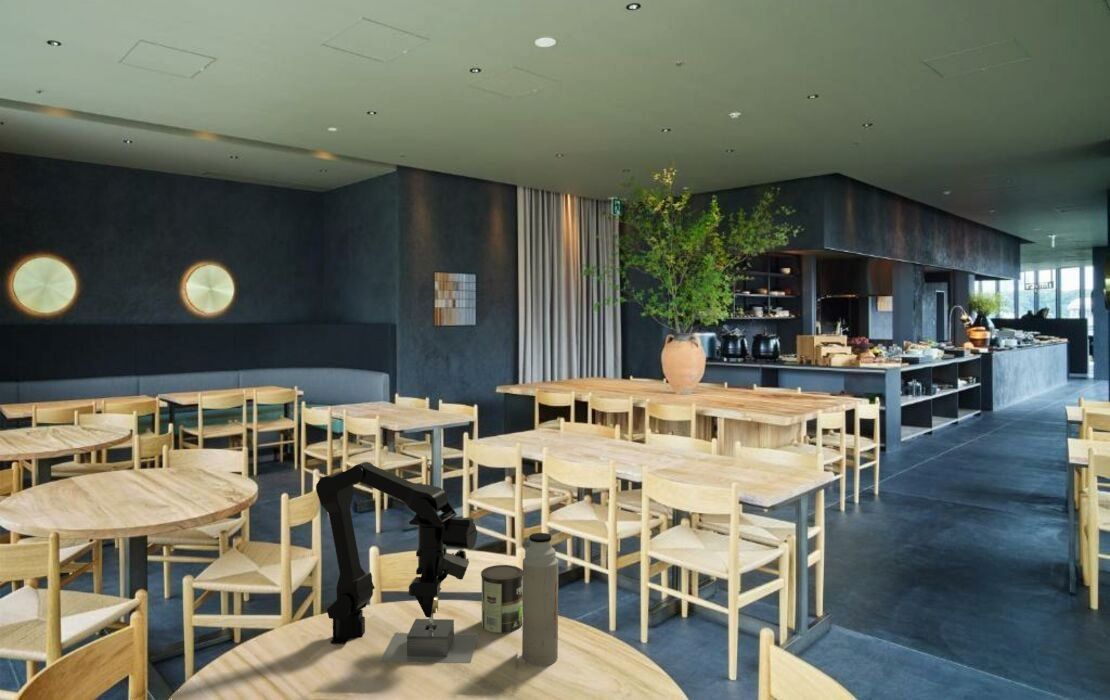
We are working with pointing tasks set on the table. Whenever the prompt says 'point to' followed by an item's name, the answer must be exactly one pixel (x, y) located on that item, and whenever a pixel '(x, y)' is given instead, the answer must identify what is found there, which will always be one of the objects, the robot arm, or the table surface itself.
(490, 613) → the coffee can
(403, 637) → the slate board
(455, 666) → the table surface
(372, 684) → the table surface
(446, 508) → the robot arm
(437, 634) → the grey knob block
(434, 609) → the golden knob
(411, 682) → the table surface
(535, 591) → the thermos bottle
